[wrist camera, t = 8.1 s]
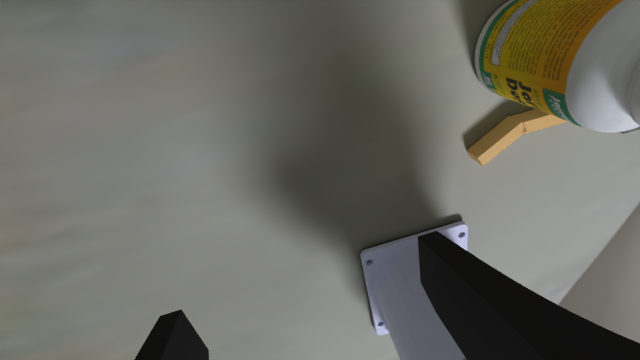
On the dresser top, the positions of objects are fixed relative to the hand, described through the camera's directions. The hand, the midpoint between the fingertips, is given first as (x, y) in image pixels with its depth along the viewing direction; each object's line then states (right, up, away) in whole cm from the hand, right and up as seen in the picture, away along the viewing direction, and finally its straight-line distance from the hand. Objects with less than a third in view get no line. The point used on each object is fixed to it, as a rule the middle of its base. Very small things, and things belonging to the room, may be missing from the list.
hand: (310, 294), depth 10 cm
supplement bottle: (+11, +11, +9) cm, 18 cm away
